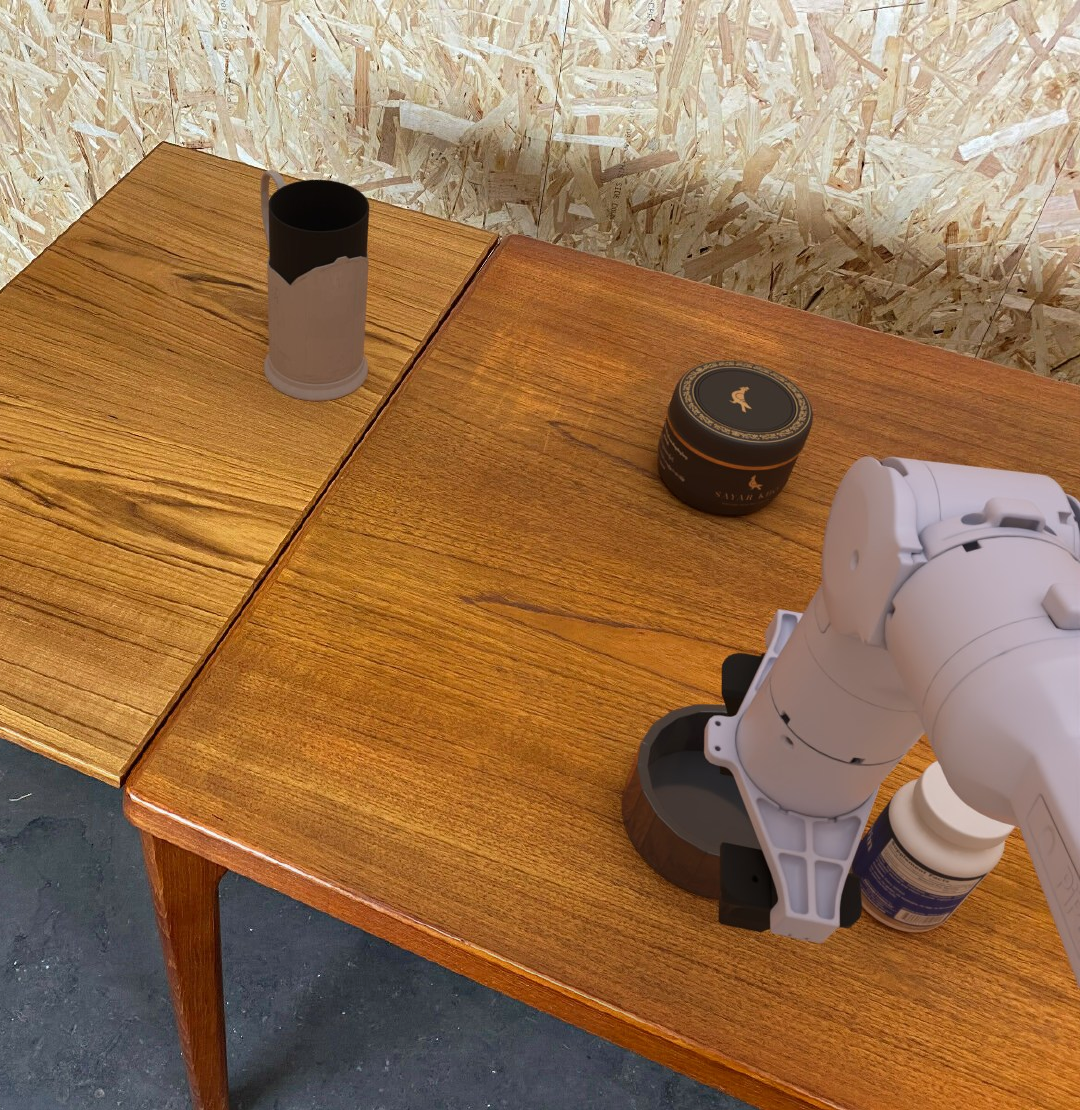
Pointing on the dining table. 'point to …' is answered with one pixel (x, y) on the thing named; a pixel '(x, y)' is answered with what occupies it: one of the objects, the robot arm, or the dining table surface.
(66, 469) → the dining table surface
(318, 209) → the glass holder
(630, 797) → the bowl
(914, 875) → the pill bottle
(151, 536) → the dining table surface
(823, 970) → the dining table surface
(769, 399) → the jar
